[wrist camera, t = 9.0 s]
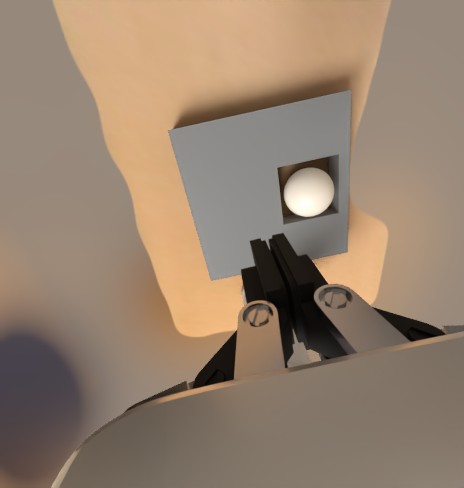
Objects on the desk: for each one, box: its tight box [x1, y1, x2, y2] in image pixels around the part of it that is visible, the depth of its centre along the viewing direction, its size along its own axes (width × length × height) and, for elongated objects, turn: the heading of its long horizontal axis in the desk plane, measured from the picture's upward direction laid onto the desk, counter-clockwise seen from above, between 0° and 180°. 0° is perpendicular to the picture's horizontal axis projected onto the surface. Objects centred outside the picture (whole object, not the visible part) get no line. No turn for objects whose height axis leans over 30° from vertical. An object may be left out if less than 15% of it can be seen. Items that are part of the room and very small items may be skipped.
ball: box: [284, 167, 334, 217], centre depth 30 cm, size 6×6×6 cm
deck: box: [168, 90, 351, 281], centre depth 31 cm, size 20×20×3 cm
